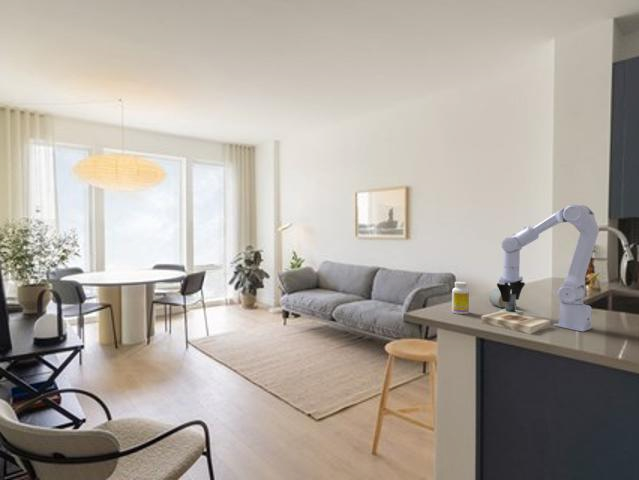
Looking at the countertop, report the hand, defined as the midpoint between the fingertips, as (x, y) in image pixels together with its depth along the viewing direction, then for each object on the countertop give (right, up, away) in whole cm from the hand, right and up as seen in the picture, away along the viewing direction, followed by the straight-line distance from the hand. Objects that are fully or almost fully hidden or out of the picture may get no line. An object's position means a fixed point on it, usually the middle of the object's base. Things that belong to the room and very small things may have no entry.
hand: (510, 300), depth 151 cm
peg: (0, -4, 0) cm, 4 cm away
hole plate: (-5, -7, -13) cm, 16 cm away
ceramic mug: (+6, -6, +17) cm, 19 cm away
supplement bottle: (-18, -6, +6) cm, 20 cm away
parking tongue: (0, -6, 0) cm, 6 cm away
